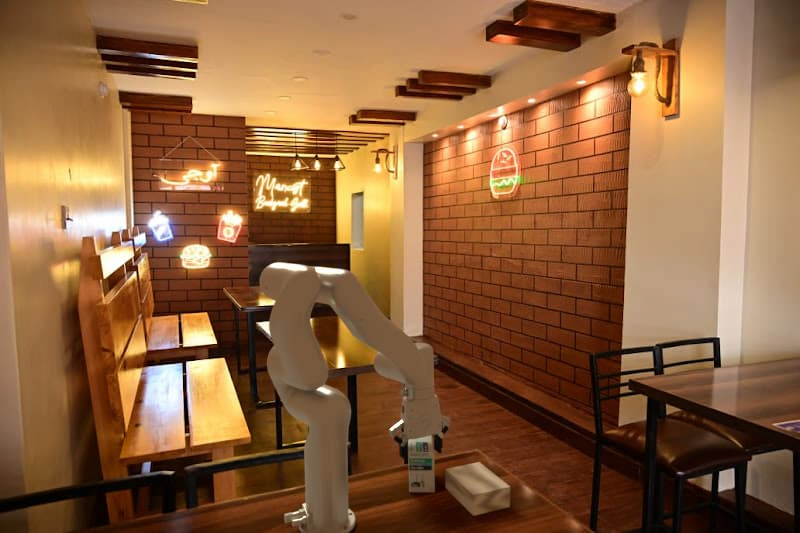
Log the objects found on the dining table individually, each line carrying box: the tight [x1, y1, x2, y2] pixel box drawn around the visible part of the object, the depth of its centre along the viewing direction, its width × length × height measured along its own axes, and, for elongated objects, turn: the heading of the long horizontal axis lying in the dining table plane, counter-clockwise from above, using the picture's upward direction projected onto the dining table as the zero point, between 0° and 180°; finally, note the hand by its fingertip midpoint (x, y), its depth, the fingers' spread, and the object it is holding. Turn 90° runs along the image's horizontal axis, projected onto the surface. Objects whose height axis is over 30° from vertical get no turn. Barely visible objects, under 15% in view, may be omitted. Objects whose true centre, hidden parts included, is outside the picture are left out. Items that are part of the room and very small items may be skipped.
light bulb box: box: [407, 435, 436, 493], centre depth 136 cm, size 11×7×11 cm, turn 0°
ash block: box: [444, 461, 511, 517], centre depth 129 cm, size 10×14×5 cm
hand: (421, 455), depth 136 cm, fingers open, 9 cm apart
